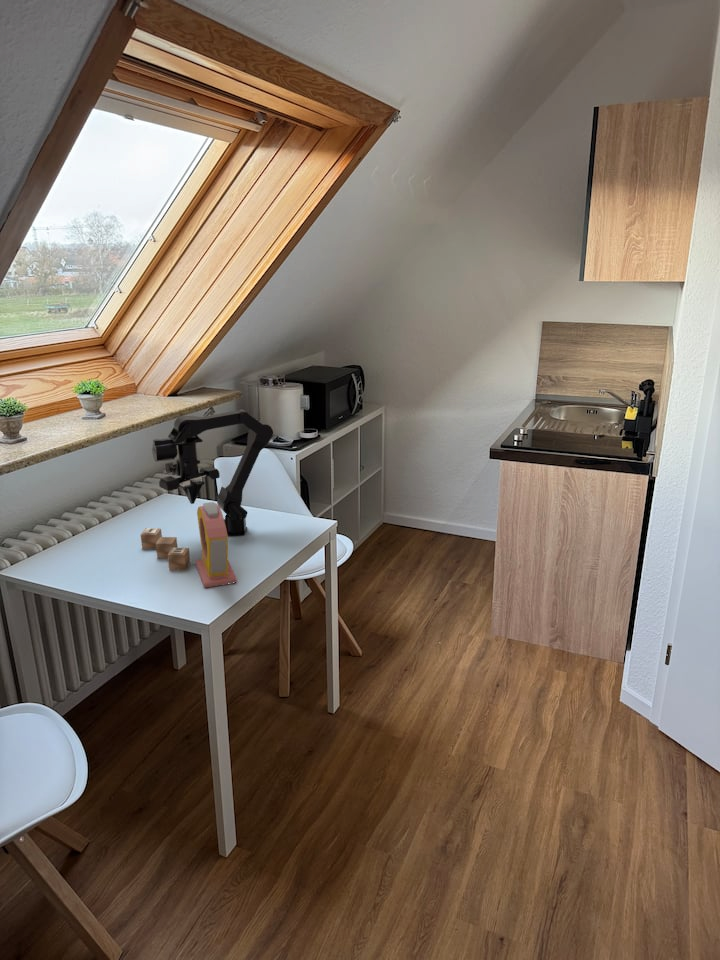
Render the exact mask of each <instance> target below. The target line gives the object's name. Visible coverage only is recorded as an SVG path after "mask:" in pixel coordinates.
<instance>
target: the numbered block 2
mask: <svg viewBox="0 0 720 960" xmlns="http://www.w3.org/2000/svg"><path fill="white" fill-rule="evenodd" d="M190 555H191V554H190V548H189V547H178V548H172V549H171V550H170V552H169V553H168V558H167V562H168V570H169V571H187V569H188V567H189V565H190V564H191V558H190V557H191V556H190Z"/></svg>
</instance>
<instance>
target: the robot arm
mask: <svg viewBox="0 0 720 960" xmlns="http://www.w3.org/2000/svg"><path fill="white" fill-rule="evenodd" d="M240 424H242V426H244V427H246V428H247V429H248V433H247V441H246V442H247V444H246V447H245V450H244V452H243V453H242V456H241V458H240V460H239V463H238V465H237V467H236V469H235V471H234V474H233V476H232V478H231V481H230V483H229V484H228V485H227V486H226V487H224V486H221V487H220V490H219V493H218V494H217V496H216V498H217V499H216V504H217V505H218V506H219V507H220V509H221V511H223V513H224V514H225V516H224V521H225V525H226V530H227V535H228V537H229V536H230V537H231V536H240V537H241V536H245V535H246V533H247V531H248V526H247V520H246V519H247V516H248V511H247V510H246V509H245V508H244V507H243V506H241V505H242V501H243V490H244V488H245V486H246V484H247V482H248V479H249V477H250V475H251V473H252V470H253V469H254V467H255V464H256V462H257V460H258V457H259V455H260V452H262V450H263V449H264V448H265V447H266V446H267V445H268V444H269V443H270V441H271V439H273V435H274V431H273V428H272V426H270V425H269V424H267V423H266V422H264V421H261V420H258V419H256V418H254V417H253V416H251V415H250V414H249V412H247V411H246V410H244V409H237V410H233V411H228V412H221V413H218V414H217V413H216V414H211V415H206V416H196V415H180V416H178V417H177V418H176V419H175V420H174V423H173V428H172V429H171V431H170V433H169V434H168V436H167V437H168V438H161V439H160V438H156V439H153V440H152V442H153V443H152V448H151V451H152V457H153V460H154V462H155V463H158V462H165V461H170V462H167V463H165V465H164V467H165V472H166V474H171V475H169V476H165V477H161V478H160V479H159V481H158V485H159V488H160V489H163V490H164V491H165V490H166V491H168V492H169V491H170V492H171V491H174V490H178V489H179V487H180V488H181V489H182V490H183V492H184V493H185V495H186V496H187V497H186V498H187V499H188V502H189V503H190V505H193V504H195V502H196V499H197V497H198V495H199V492H200V490H201V489H202V487H203V485H205V481H203V478H206V477H207V478H208V477H209V479H211V480H216V479H219V478H220V477H221V476H220V471H219V469H218V468H215V467H212V466H206V467H202V468H200V469H199V464H201V460H200V459H199V458H198V451H197V449H198V448H197V443H203V441H204V440H203V439H202V438H201V437H199V436H198V435H200V434H202V433H204V432H206V431H209V430H215V429H219V428H226V427H229V426H236V425H240ZM177 456H178V459H176V458H177ZM175 459H176V463H175V464H174V463H173V461H172V460H175ZM171 461H172V462H171ZM175 475H176V476H178V477H174V476H175Z"/></svg>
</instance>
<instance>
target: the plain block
mask: <svg viewBox="0 0 720 960" xmlns="http://www.w3.org/2000/svg"><path fill="white" fill-rule="evenodd" d="M177 538H178V537H176V536H162V537H160V539H159V540H158V541H157V543H156V549H155V550H156V558H157V559H168V553H169V552H170V550H171V549H172V548H179V547H178V540H177Z"/></svg>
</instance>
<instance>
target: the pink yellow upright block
mask: <svg viewBox="0 0 720 960" xmlns="http://www.w3.org/2000/svg"><path fill="white" fill-rule="evenodd" d="M196 511H197V513H196V514H197V521H198V522H197V523H198V524H197V525H198V531H199V539H200V545H201V547H200V548H201V556H202V558H200V559H197V560H195V565H196V568H197V569H196V570H197V571H198V574H199V577H200V580H201V583H202V586H203V588H205V589H207V588H206V587H209V588H213V587H212V586H215V587H218V586H217V585H221V586H224V585H223V584H227V585H229V584H228V583H233V582H236V581H237V582H238V579H237V577H236V574H235V572H234V570H233V568H232V565H231V563H230V562H229V558H228V557H229V552H228V551H229V549H228V548H229V543H228V542H229V541H228V540H229V536H228V535H227V530H226V525H225V521H224V519H225V517H224V515H223V512H222V509H221V508H220V507H219V506H218V504H217V502H213V501H212V502H211V501H210V502H204V503H202V505H200V506H198V508H197V510H196ZM237 582H236V583H237ZM233 584H234V583H233Z"/></svg>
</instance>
